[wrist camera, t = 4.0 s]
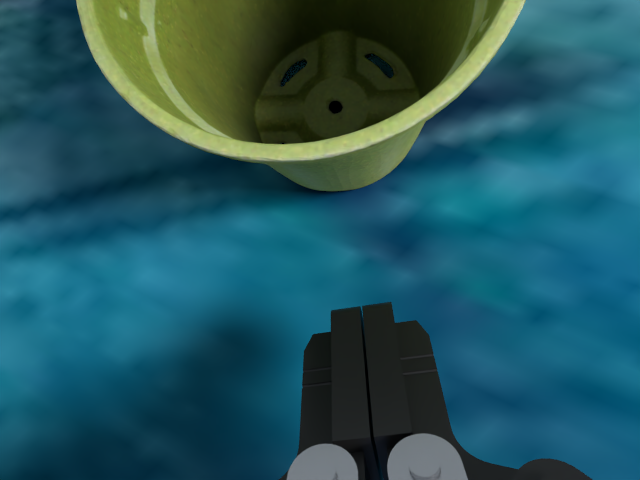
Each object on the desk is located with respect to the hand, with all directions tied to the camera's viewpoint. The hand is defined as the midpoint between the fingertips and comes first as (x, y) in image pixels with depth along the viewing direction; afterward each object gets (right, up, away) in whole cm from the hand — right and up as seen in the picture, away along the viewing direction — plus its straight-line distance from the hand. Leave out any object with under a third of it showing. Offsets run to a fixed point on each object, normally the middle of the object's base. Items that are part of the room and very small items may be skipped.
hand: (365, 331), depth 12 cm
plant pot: (0, +7, +6) cm, 9 cm away
